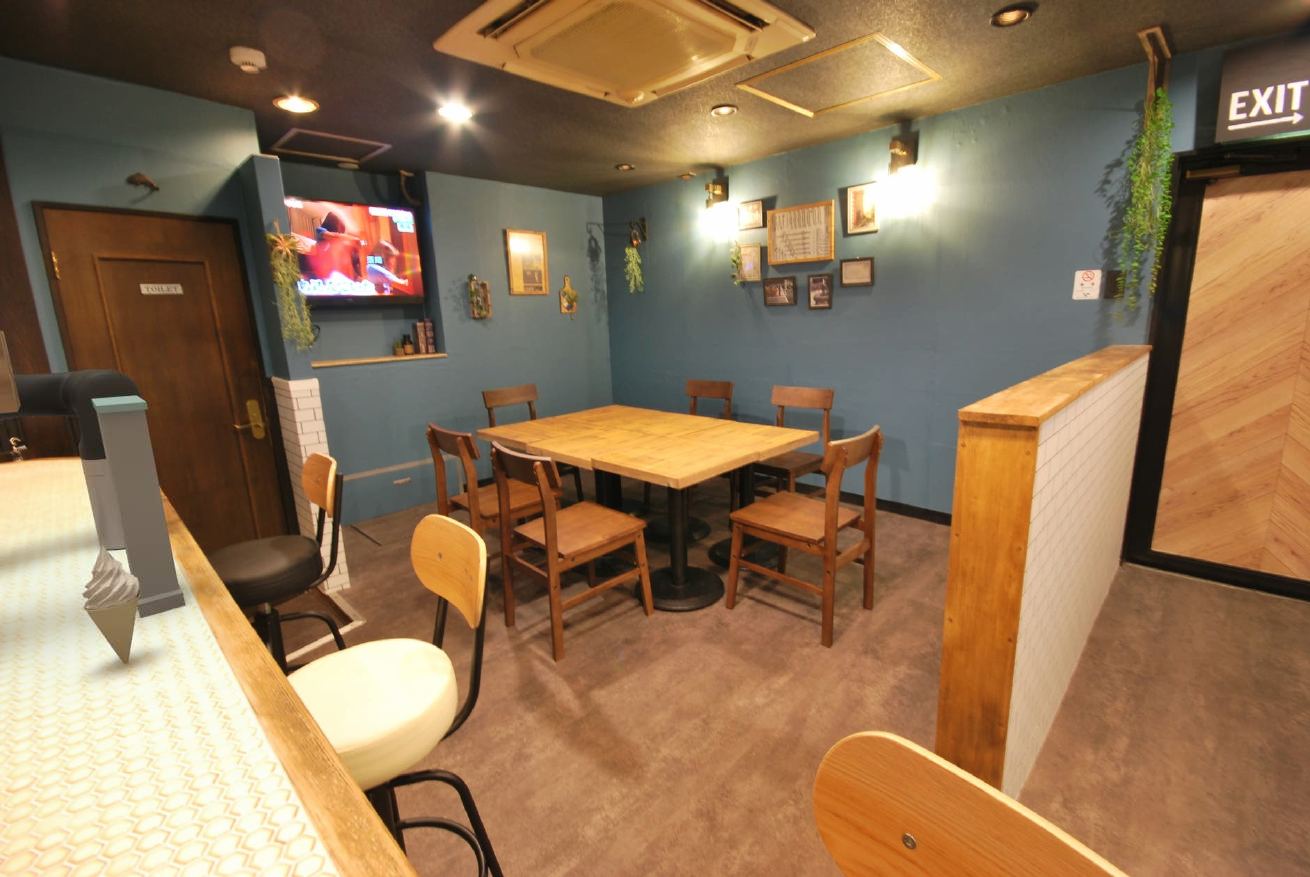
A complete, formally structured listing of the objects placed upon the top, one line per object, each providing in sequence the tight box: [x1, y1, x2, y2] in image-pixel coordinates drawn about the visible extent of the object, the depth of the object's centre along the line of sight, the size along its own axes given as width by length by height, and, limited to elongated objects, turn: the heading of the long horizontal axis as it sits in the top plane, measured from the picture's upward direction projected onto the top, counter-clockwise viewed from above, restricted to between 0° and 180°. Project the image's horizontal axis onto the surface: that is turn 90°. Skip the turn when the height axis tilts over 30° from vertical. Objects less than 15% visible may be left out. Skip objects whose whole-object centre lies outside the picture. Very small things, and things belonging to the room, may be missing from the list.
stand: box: [92, 396, 186, 619], centre depth 85 cm, size 14×5×30 cm, turn 46°
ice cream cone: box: [81, 545, 140, 664], centre depth 69 cm, size 5×5×15 cm
